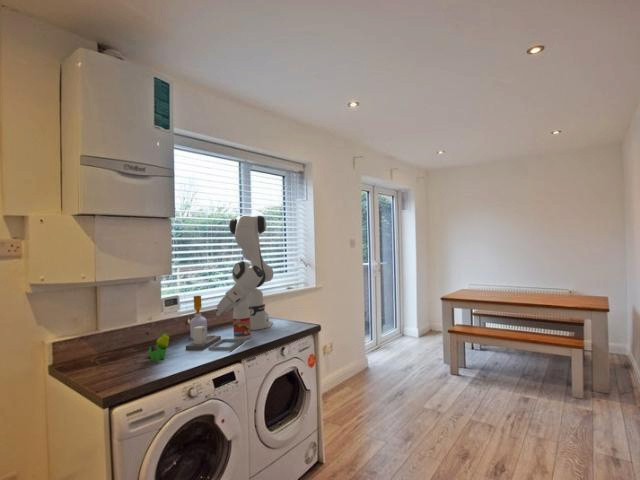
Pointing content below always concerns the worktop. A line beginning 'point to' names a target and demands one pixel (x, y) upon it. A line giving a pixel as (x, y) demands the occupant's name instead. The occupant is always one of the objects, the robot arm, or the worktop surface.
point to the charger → (199, 334)
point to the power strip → (209, 342)
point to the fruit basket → (159, 348)
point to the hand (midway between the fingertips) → (221, 313)
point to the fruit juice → (242, 320)
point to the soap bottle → (197, 316)
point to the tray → (213, 347)
